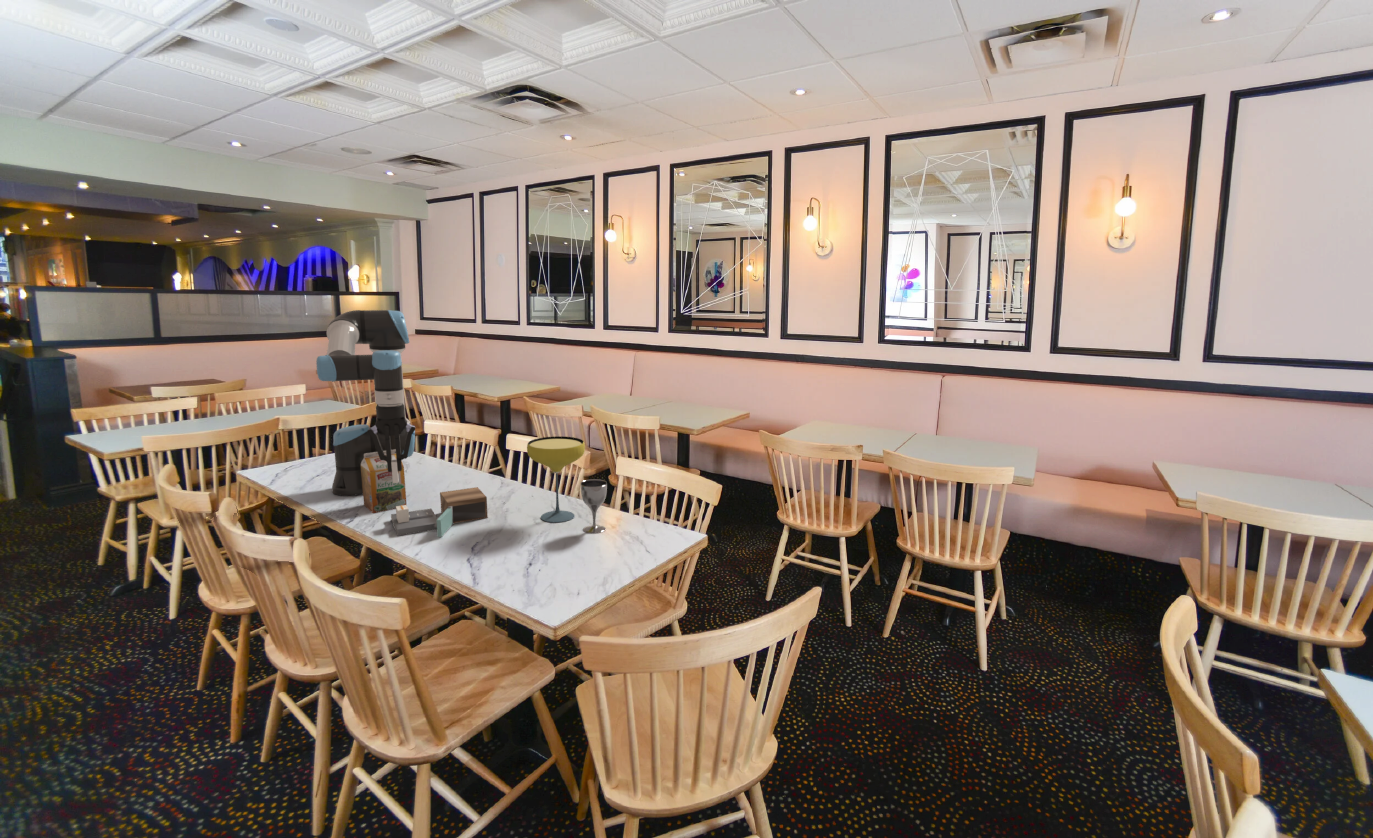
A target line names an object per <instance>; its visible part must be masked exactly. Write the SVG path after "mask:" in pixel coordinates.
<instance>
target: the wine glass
mask: <svg viewBox="0 0 1373 838" xmlns="http://www.w3.org/2000/svg"><path fill="white" fill-rule="evenodd" d="M607 489H608V483H607V481H606V480H603V479H595V478H594V479H593V478H592V479H586V480H583V481H581V482H580V493H581V499H582V502H584V504H585V505H586V506H587V507H588V508H589V510H590V512H591V515H592V525H587V526H584V527H583V529H582V531H583V532H584V533H586V534H589V535H591V534H592V535H595V534H602V533H605V531H606V530H607V529H606V528H607V527H605V526H604V525H599V524H596V523H597V522H596V521H597V520H596V518H597V512H598V510H599V508H600V507H601V506H602V504H603V503H604V502H605V501H606V500H605V499H606V498H607V493H608V490H607ZM605 529H606V530H605ZM604 530H605V531H604ZM601 532H602V533H601Z"/></svg>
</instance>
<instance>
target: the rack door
mask: <svg viewBox="0 0 1373 838" xmlns="http://www.w3.org/2000/svg"><path fill="white" fill-rule="evenodd" d="M437 518H438V519H437V523H435V525H434V527H435V528H437V530H436V532H437V534H436V535H437V536H436V537H437V538H443V536H444V535H445V534H446V533H447V531H448V530H449V529H450V528H451V527H452V526H453V525H454V523H453V509H452V506H448V508H447V509H446V510H445V512H444V513H443V514H442V513H441V514H440V516H438V517H437Z"/></svg>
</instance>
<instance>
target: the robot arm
mask: <svg viewBox="0 0 1373 838" xmlns="http://www.w3.org/2000/svg"><path fill="white" fill-rule="evenodd" d="M326 337H327V340H328V344H327V350H326V351H327V352H326V354H325V355H319V356H317V357H316V363H315V364H316V375H317V378H318V380H320V381H321V382H331V383H332V382H345V381H346V382H348V381H370V380H371V381H372V380H373V385H374V399H375V400H374V402H375V404H376V406H375V411H376V414H375V416H376V421H375V424H374V425H373V426H372V427H370V426H369V425H368V424H353V425H350V426H345V427H342V428H339V429H337V430H336V431H334V433H333V435H332V436H333V440H332V441H333V443H332V445H333V448H334V449H333V450H334V451H333V452H334V460H335V461H334V462H335V475H334V478H333V481H332V485H331V492H332V493H333V494H334V495H335V496H341V497H342V496H343V497H345V496H347V497H348V496H352V497H353V496H360V495H363V487H362V475H361V462H362V460H363V459H364V454H366V453H373V452H378V455H379V458H380V460H384V461H386V462H387V468H388V472H392V478H393V483H398V482H399V478H398V471H401V470H402V463H403V460H406V459H407V458H411V457H412V456H413V454H414V451H415V443H416V442H415V440H416V436H415V435H416V426H415V425H413V424H411V421H410V420H409V419H408V418H407V417H406V406H405V390H404V387H405V386H404V376H403V359H402V353H403V352H404V351H405V350H406V345H407V344H409V343H410V338H409V332H408V328H407V322H406V318H405V315H404V313H403V312H402V311H401V310H391V309H386V310H385V309H384V310H383V309H376V310H375V309H373V310H372V309H371V310H370V309H369V310H365V309H364V310H363V309H362V310H361V309H356V310H349V311H347V312H344V313H341V314H339V315H337V316H336V317H334V319H332V320H331V321H330V322H329V324H328V326H327V328H326ZM362 344H363V345H368V347H369V351H371V352H372V354H356V345H362ZM395 449H396V460H392V456H391V450H395ZM383 451H386V455H384V452H383ZM401 461H402V462H401Z"/></svg>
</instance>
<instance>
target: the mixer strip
mask: <svg viewBox="0 0 1373 838" xmlns="http://www.w3.org/2000/svg"><path fill="white" fill-rule="evenodd" d="M390 518H391V522H392V526H393V527H394V529H395V532H396V534H397V537H399V536H406V535H412V534H419V533H424V532H431V531H435V530H436V531H437V528H435V527H434V525H435V523H437V519H438V518H439V517H437V515H436V514H435V512H434V511H433V509H432V508H424V509H419V510H413V511H411V510H410V511H409V522H403V523H398V521H397V516H396V513H392V514H390Z"/></svg>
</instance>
